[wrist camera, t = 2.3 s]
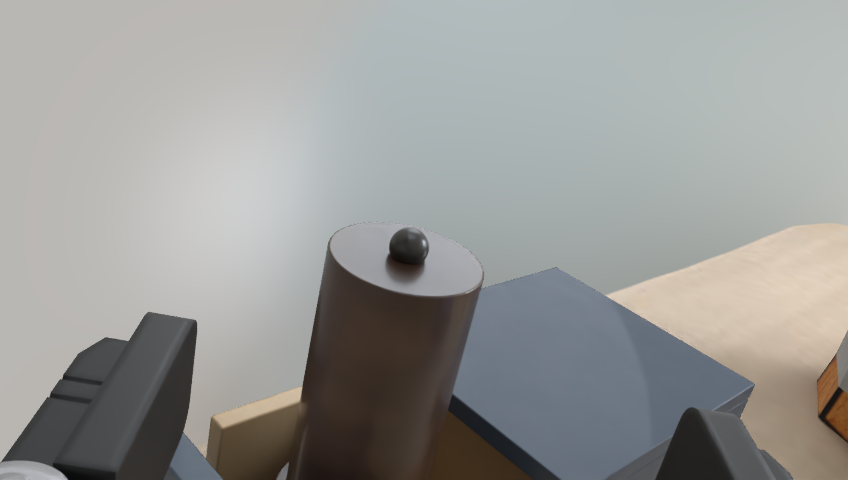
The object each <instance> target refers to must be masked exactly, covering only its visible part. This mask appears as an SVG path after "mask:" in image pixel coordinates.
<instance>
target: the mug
mask: <svg viewBox="0 0 848 480" xmlns="http://www.w3.org/2000/svg"><path fill="white" fill-rule="evenodd" d="M817 384H818V417H819V418H820V419H821V420H823V421H824V422H825V423H826V424H827V425H828V426H830V427H831V428H832V429H833V430H834V431H835V432H837V433H838V434H839V435H840V436H841V437H842V438H844V439H845V440H846V441H847V442H848V331H847V333H846V335H845V337H844V339H843V341H842V343H841V345H840V347H839V349H838V351H837V353H836V355H835V356H834V358H833V359H832V360H831V362H830V363H829V365H828V366H827V368H826V369H825V370H824V372H823V373H822V375H821V376H820V378H819V379H818V380H817Z"/></svg>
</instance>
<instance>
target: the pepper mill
mask: <svg viewBox="0 0 848 480" xmlns="http://www.w3.org/2000/svg"><path fill="white" fill-rule="evenodd" d="M483 280H484V271H483V268H482V266H481V263H480V262H479V261H478V259H477V258H476V257H475V256H474V255H473V254H472V253H471V252H470V251H468V250H467V249H466V248H465V247H463V246H461V245H460V244H458V243H457V242H455V241H453V240H451V239H449V238H447V237H445V236H442V235H440V234H437V233H435V232H432V231H428V230H425V229H421V228H418V227H414V226H409V225H404V224H397V223H386V222H369V223H360V224H354V225H350V226H347V227H345V228H342V229H340V230H339V231H337V232H336V233H334V235H333V236H332V237H331V238H330V240H329V242H328V247H327V252H326V258H325V264H324V269H323V275H322V280H321V286H320V291H319V297H318V303H317V308H316V314H315V319H314V325H313V331H312V336H311V342H310V347H309V353H308V359H307V364H306V370H305V375H304V381H303V387H302V392H301V398H300V403H299V409H298V415H297V420H296V426H295V431H294V437H293V443H292V448H291V454H290V459H289V460H288V461H287V462H286V463H285V464H284V466H283V467H282V468H281V469H280V470H279V472H278V474H277V476H276V478H275V480H429V477H430V474H431V470H432V466H433V463H434V459H435V455H436V452H437V448H438V444H439V441H440V437H441V433H442V430H443V426H444V422H445V419H446V415H447V411H448V408H449V404H450V400H451V397H452V393H453V389H454V386H455V382H456V378H457V375H458V371H459V367H460V364H461V360H462V356H463V353H464V349H465V345H466V342H467V338H468V334H469V331H470V327H471V323H472V320H473V316H474V312H475V309H476V305H477V301H478V298H479V294H480V290H481V287H482V283H483Z"/></svg>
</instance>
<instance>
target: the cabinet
mask: <svg viewBox="0 0 848 480" xmlns="http://www.w3.org/2000/svg"><path fill="white" fill-rule="evenodd" d="M754 386H755V384H754V383H752V382H751V381H749V380H747V379H746V378H744V377H742V376H740V375H739V374H737V373H735V372H734V371H732V370H730V369H729V368H727V367H725V366H723V365H722V364H720V363H718V362H717V361H715V360H713V359H712V358H710V357H708V356H706V355H705V354H703V353H701V352H700V351H698V350H696V349H695V348H693V347H691V346H689V345H688V344H686V343H684V342H683V341H681V340H679V339H678V338H676V337H674V336H672V335H671V334H669V333H667V332H666V331H664V330H662V329H661V328H659V327H657V326H655V325H654V324H652V323H650V322H649V321H647V320H645V319H644V318H642V317H640V316H638V315H637V314H635V313H633V312H632V311H630V310H628V309H627V308H625V307H623V306H621V305H620V304H618V303H616V302H615V301H613V300H611V299H610V298H608V297H606V296H604V295H603V294H601V293H599V292H598V291H596V290H594V289H593V288H591V287H589V286H587V285H586V284H584V283H582V282H581V281H579V280H577V279H576V278H574V277H572V276H570V275H569V274H567V273H565V272H563V271H562V270H560V269H559V268H557V267H555V268H552V269H549V270H545V271H541V272H538V273H535V274H531V275H528V276H524V277H520V278H517V279H513V280H510V281H506V282H503V283H499V284H496V285H492V286H489V287H485V288H482V289H481V290H480V294H479V298H478V301H477V305H476V309H475V312H474V316H473V320H472V323H471V327H470V331H469V334H468V338H467V342H466V345H465V349H464V353H463V356H462V360H461V364H460V367H459V371H458V375H457V378H456V382H455V386H454V389H453V393H452V397H451V400H450V404H449V408H448V411H449V412H451V413H452V414H453V415H454V416H455V417H457V418H458V419H459V420H460V421H462V422H463V423H464V424H465V425H467V426H468V427H469V428H470V429H471V430H473V431H474V432H475V433H476V434H478V435H479V436H480V437H481V438H483V439H484V440H485V441H486V442H487V443H489V444H490V445H491V446H492V447H494V448H495V449H496V450H497V451H498V452H500V453H501V454H502V455H503V456H505V457H506V458H507V459H508V460H510V461H511V462H512V463H513V464H514V465H516V466H517V467H518V468H519V469H521V470H522V471H523V472H524V473H526V474H527V475H528V476H529V477H530V478H532V479H533V480H655V479H656V476H657V474H658V471H659V469H660V466H661V464H662V461H663V459H664V457H665V454H666V452H667V449H668V447H669V444H670V442H671V440H672V437H673V435H674V432H675V430H676V428H677V425H678V423H679V420H680V418H681V416H682V414H683V413H684V412H685V410H686V409H688V408H690V407H694V408H700V409H706V410H712V411H717V412H723V413H729V414H734V415H737V416H738V417H739V418H740V416H741V414H742V412H743V410H744V407H745V405H746V403H747V401H748V398H749V397H750V394H751V392H752V390H753V388H754Z"/></svg>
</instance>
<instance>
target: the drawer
mask: <svg viewBox="0 0 848 480" xmlns="http://www.w3.org/2000/svg"><path fill="white" fill-rule="evenodd" d="M302 387H303V386H301V387H298V388H295V389H292V390H289V391H286V392H283V393H280V394H277V395H274V396H271V397H268V398H265V399H262V400H259V401H256V402H253V403H250V404H247V405H244V406H241V407H238V408H235V409H232V410H229V411H226V412H223V413H220V414H217V415H214V416H212V417H211V423H210V431H209V439H208V447H207V455H206V459H205V457H204V456H203V455H202V454H201V453H200V451H199V450H198V449H197V448H196V447H195V446H194V444H193V443H192V442H191V441H190V440H189V439H188V437H187V436H186V435H185V434H184V433H183V434H182V437H181V440H180V442H179V445H178V447H177V449H176V452H175V454H174V456H173V459H172V461H171V463H170V466H169V468H168V470H167V473H166V475H165V478H164V480H275V478H276V476H277V474H278V472H279V470H280V469H281V468H282V467H283V466H284V464H285V463H286V462H287V461H288V460H289V459H290V454H291V448H292V443H293V437H294V431H295V426H296V420H297V415H298V409H299V403H300V398H301V392H302ZM429 480H533V479H532V478H530V477H529V476H528V475H527V474H526V473H524V472H523V471H522V470H521V469H519V468H518V467H517V466H516V465H514V464H513V463H512V462H511V461H510V460H508V459H507V458H506V457H505V456H503V455H502V454H501V453H500V452H498V451H497V450H496V449H495V448H494V447H492V446H491V445H490V444H489V443H487V442H486V441H485V440H484V439H483V438H481V437H480V436H479V435H478V434H476V433H475V432H474V431H473V430H471V429H470V428H469V427H468V426H467V425H465V424H464V423H463V422H462V421H460V420H459V419H458V418H457V417H455V416H454V415H453V414H452V413H451V412H449V411H447V415H446V419H445V422H444V426H443V430H442V433H441V437H440V441H439V444H438V448H437V452H436V455H435V459H434V463H433V466H432V470H431V474H430V477H429Z"/></svg>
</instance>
